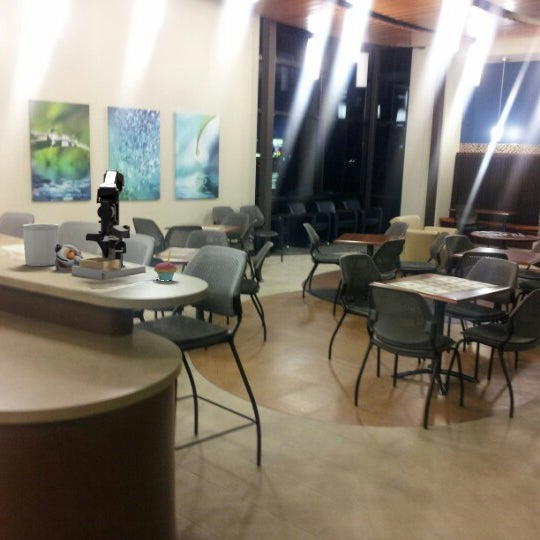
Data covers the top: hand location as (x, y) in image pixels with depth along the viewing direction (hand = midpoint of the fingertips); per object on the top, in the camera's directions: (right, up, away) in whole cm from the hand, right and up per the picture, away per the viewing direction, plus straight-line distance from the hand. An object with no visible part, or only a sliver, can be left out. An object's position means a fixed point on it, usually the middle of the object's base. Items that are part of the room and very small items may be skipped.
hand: (108, 257), depth 232 cm
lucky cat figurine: (-19, -5, +12) cm, 23 cm away
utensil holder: (-37, -3, +27) cm, 46 cm away
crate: (-2, -7, -3) cm, 8 cm away
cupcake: (+23, -9, -4) cm, 25 cm away
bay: (0, -7, +1) cm, 8 cm away
